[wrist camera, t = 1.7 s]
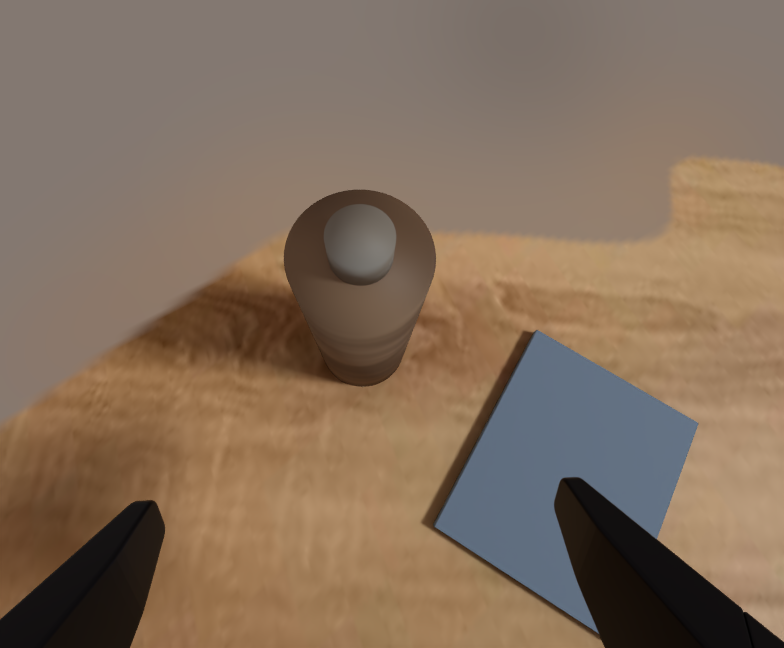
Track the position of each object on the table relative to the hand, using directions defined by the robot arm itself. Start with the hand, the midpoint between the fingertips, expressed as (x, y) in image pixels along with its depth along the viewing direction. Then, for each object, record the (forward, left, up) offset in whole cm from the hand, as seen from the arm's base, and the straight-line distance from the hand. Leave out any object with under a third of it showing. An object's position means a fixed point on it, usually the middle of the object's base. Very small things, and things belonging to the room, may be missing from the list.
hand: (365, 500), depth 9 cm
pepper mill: (+6, +4, -13) cm, 15 cm away
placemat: (+6, -9, -13) cm, 17 cm away
